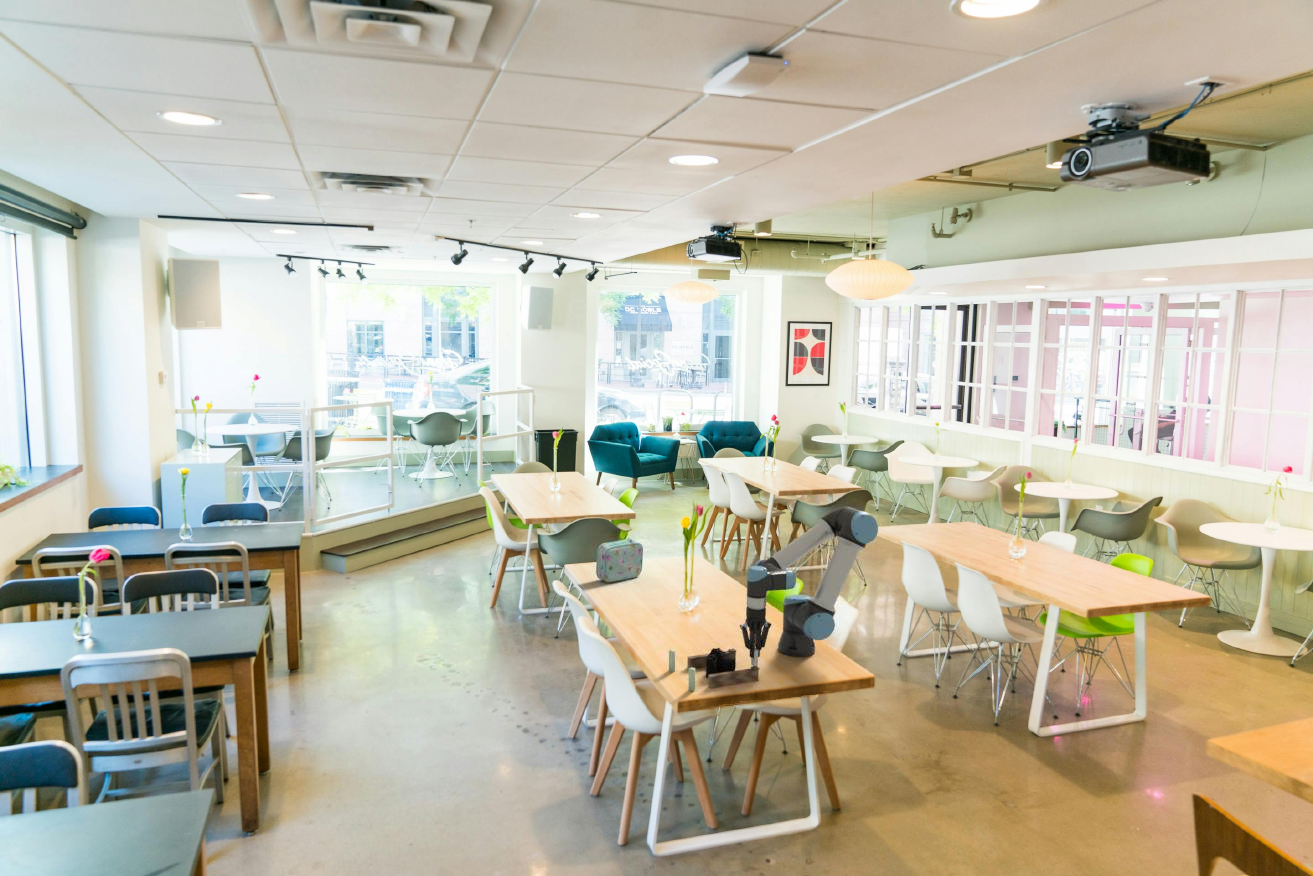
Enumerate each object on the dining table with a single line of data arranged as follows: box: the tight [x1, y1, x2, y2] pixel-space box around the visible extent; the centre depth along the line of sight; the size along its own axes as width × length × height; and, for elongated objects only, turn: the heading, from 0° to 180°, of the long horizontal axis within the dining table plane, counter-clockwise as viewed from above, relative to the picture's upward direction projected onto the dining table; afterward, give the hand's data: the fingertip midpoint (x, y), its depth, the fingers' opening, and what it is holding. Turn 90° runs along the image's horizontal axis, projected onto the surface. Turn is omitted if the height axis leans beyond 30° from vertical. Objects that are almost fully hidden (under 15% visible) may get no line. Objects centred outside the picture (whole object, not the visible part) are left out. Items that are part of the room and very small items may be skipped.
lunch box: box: [595, 538, 644, 584], centre depth 443 cm, size 27×10×21 cm, turn 130°
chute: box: [687, 648, 760, 689], centre depth 317 cm, size 20×21×5 cm
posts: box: [668, 649, 696, 692], centre depth 310 cm, size 2×21×8 cm, turn 22°
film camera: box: [705, 647, 737, 680], centre depth 318 cm, size 15×10×9 cm, turn 159°
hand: (754, 665), depth 322 cm, fingers closed
